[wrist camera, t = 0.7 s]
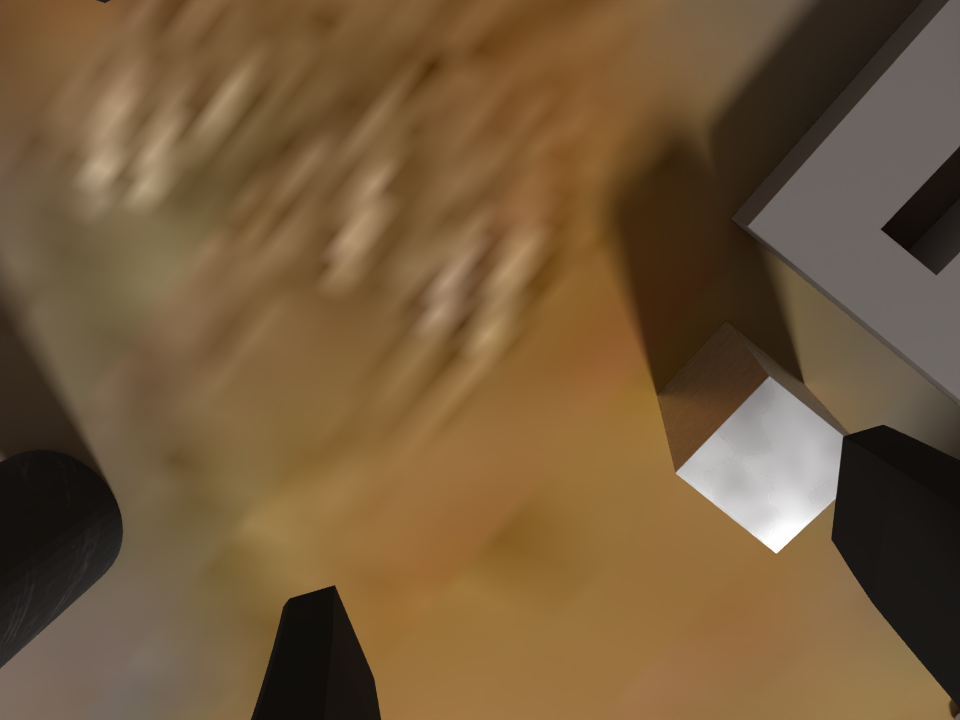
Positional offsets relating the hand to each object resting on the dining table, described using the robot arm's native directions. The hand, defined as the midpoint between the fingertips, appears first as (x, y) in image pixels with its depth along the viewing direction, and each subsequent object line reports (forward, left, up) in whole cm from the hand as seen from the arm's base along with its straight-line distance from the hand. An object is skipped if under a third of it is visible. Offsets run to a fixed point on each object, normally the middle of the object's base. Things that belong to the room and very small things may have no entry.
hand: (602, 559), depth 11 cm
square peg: (-6, 0, -21) cm, 21 cm away
